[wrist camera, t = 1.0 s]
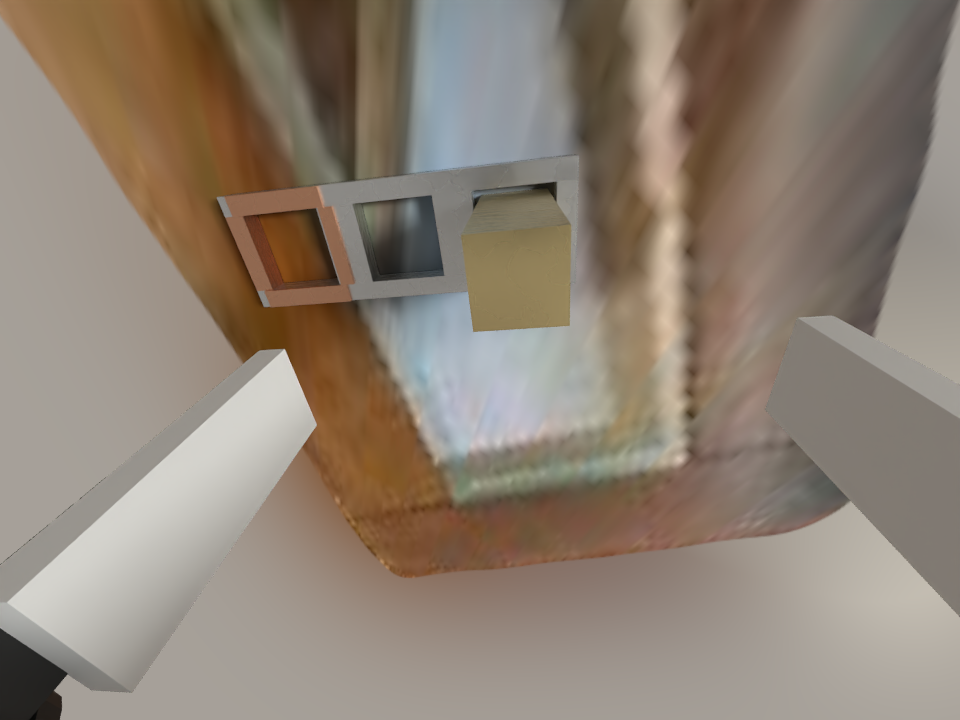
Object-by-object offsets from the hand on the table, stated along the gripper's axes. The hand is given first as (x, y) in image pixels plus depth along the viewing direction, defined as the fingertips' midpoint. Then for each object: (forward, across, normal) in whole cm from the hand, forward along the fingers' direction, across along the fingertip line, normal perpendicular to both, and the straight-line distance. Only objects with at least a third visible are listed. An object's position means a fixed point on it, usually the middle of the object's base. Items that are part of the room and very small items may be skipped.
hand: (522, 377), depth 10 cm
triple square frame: (+19, -8, 0) cm, 21 cm away
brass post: (+19, 0, 0) cm, 19 cm away
